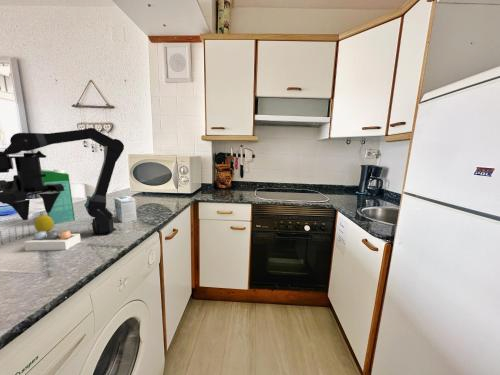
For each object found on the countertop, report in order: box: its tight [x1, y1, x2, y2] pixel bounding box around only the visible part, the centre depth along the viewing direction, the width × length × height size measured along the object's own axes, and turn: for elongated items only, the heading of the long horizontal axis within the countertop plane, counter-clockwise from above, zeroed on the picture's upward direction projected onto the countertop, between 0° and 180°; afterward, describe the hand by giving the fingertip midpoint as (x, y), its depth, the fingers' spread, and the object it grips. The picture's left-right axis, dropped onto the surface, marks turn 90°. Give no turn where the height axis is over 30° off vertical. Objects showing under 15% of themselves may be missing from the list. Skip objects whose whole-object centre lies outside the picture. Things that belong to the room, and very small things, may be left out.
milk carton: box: [41, 168, 76, 225], centre depth 100 cm, size 9×9×25 cm
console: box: [23, 233, 82, 252], centre depth 75 cm, size 7×13×3 cm, turn 94°
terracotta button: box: [58, 230, 72, 240], centre depth 75 cm, size 3×3×3 cm
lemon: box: [34, 214, 55, 234], centre depth 85 cm, size 6×6×8 cm
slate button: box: [33, 231, 47, 240], centre depth 74 cm, size 3×3×3 cm
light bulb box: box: [113, 195, 138, 223], centre depth 104 cm, size 11×7×11 cm, turn 47°
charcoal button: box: [46, 230, 60, 240], centre depth 74 cm, size 3×3×3 cm
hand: (37, 216), depth 73 cm, fingers open, 8 cm apart
